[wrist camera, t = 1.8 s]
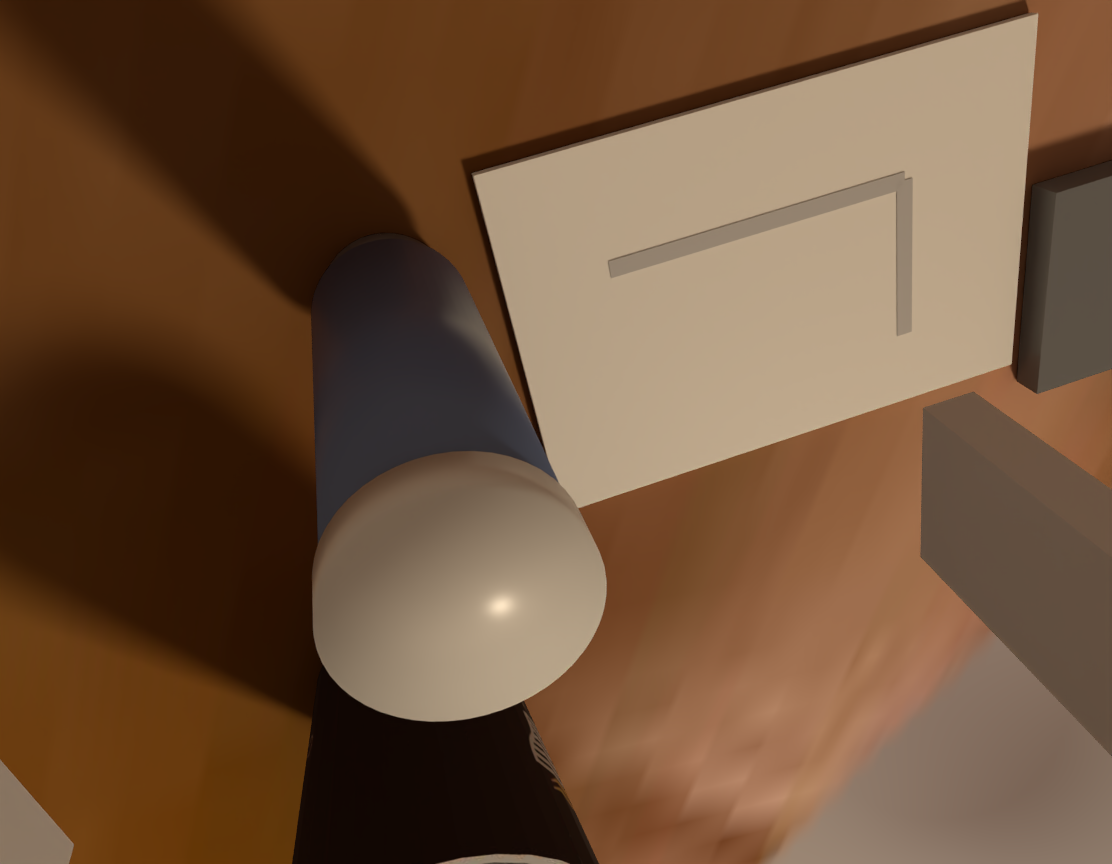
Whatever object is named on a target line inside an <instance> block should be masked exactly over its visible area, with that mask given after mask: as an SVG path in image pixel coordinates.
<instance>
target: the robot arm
mask: <svg viewBox="0 0 1112 864" xmlns="http://www.w3.org/2000/svg"><path fill="white" fill-rule="evenodd" d="M921 558H922V559H923V560H924V561H925V562H926V563H927V564H928V565H929V566H930V567H931V568H932V569H933V570H934V571H935V572H936V573H937V574H938V575H939V576H940V577H941V579H942V580H943V581H944V582H945V583H946V584H947V585H948V586H949V587H950V588H951V589H952V590H953V591H954V592H955V593H956V594H957V595H958V596H959V597H960V598H961V599H962V600H963V601H964V603H965V604H966V605H967V606H968V607H969V608H970V609H971V610H972V611H973V612H974V613H975V614H976V615H977V616H978V617H979V618H980V619H981V620H982V621H983V622H984V623H985V624H986V625H987V627H988V628H989V629H990V630H991V631H992V632H993V633H994V634H995V635H996V636H997V637H998V638H999V639H1000V640H1001V641H1002V642H1003V643H1004V644H1005V645H1006V646H1007V647H1008V648H1009V649H1010V650H1011V651H1012V653H1013V654H1014V655H1015V656H1016V657H1017V658H1018V659H1019V660H1020V661H1021V662H1022V663H1023V664H1024V665H1025V666H1026V667H1027V668H1028V669H1029V670H1030V671H1031V672H1032V673H1033V674H1034V675H1035V676H1036V678H1037V679H1039V681H1040V682H1041V683H1042V684H1043V685H1044V686H1045V687H1046V688H1047V689H1048V690H1049V691H1050V692H1051V693H1052V694H1053V695H1054V696H1055V697H1056V698H1057V699H1058V701H1059V702H1060V703H1061V704H1062V705H1063V706H1064V707H1065V708H1066V709H1067V710H1068V711H1069V712H1070V713H1071V714H1072V715H1073V716H1074V717H1075V718H1076V719H1077V720H1078V721H1079V722H1080V724H1082V726H1084V728H1085V729H1086V730H1087V731H1088V732H1089V733H1090V734H1091V735H1092V736H1093V737H1094V738H1095V739H1096V740H1097V741H1098V742H1099V743H1100V744H1101V745H1102V746H1103V748H1104V749H1106V751H1107V752H1108V753H1109V754H1110V755H1111V756H1112V490H1111V489H1110V488H1109V487H1107V486H1106V485H1104V484H1103V483H1102V482H1100V481H1099V480H1097V479H1096V478H1094V477H1093V476H1092V475H1090V474H1089V473H1087V472H1086V471H1085V470H1083V469H1082V468H1080V467H1079V466H1078V465H1076V464H1075V463H1073V462H1072V461H1070V460H1069V459H1068V458H1066V457H1065V456H1063V455H1062V454H1061V453H1059V452H1058V451H1056V450H1055V449H1054V448H1052V447H1051V446H1049V445H1048V444H1047V443H1045V442H1044V441H1042V440H1041V439H1039V438H1038V437H1037V436H1035V435H1034V434H1032V433H1031V432H1030V431H1028V430H1027V429H1025V428H1024V427H1023V426H1021V425H1020V424H1018V423H1017V422H1015V421H1014V420H1013V419H1011V418H1010V417H1008V416H1007V415H1006V414H1004V413H1003V412H1001V411H1000V410H999V409H997V408H996V407H994V406H993V405H991V404H990V403H989V402H987V401H986V400H984V399H983V398H982V397H980V396H979V395H977V394H976V393H975V392H971V393H968V394H965V395H962V396H958V397H955V398H952V399H949V400H946V401H943V402H940V403H937V404H934V405H931V406H928V407H924V408H923V444H922V501H921ZM73 846H74V844H73V843H72V842H71V841H70V839H69V838H68V837H67V836H66V835H65V834H64V832H63V831H62V830H61V829H60V828H59V827H58V826H57V824H56V823H55V822H54V821H53V820H52V819H51V818H50V816H49V815H48V814H47V813H46V812H45V811H44V810H43V808H42V807H41V806H40V805H39V804H38V803H37V802H36V800H35V799H34V798H33V797H32V796H31V795H30V793H29V792H28V791H27V790H26V789H25V788H24V787H23V785H22V784H21V783H20V782H19V781H18V780H17V779H16V777H15V776H14V775H13V774H12V773H11V772H10V771H9V769H8V768H7V767H6V766H5V765H4V764H3V763H2V761H1V760H0V864H69V861H70V858H71V854H72V850H73Z"/></svg>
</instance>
